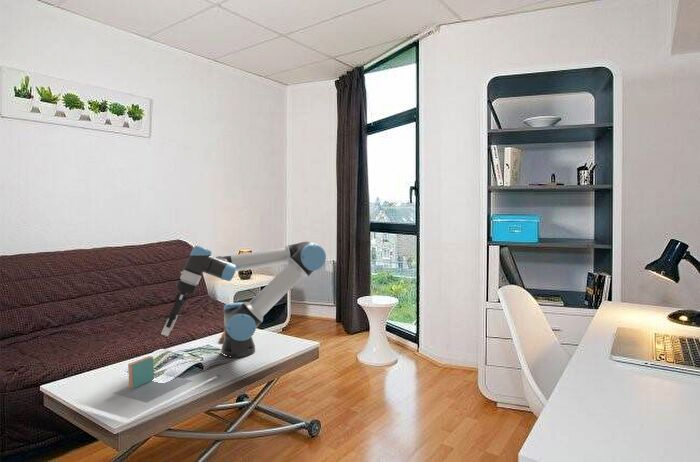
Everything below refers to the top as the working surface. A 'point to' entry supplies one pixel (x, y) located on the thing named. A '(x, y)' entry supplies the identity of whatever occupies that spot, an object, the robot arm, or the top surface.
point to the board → (151, 389)
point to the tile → (140, 372)
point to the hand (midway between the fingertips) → (166, 332)
